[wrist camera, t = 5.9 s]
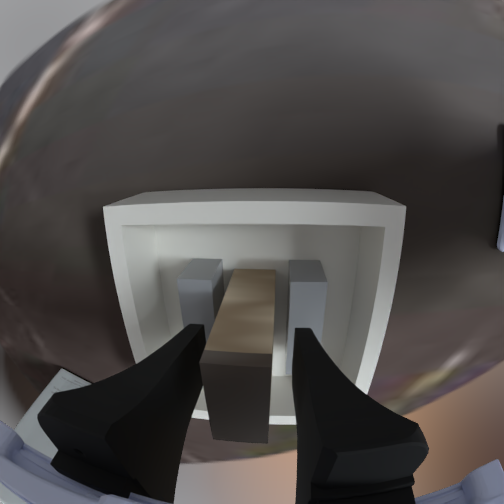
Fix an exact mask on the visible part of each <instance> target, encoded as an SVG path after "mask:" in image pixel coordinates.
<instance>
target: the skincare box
mask: <svg viewBox="0 0 504 504" xmlns="http://www.w3.org/2000/svg"><path fill="white" fill-rule="evenodd" d="M90 384H91V383H89V382H87V381H85V380H83V379H81V378H79V377H77V376H75V375H73V374H72V373H70V372H68V371H66V370H64V369H63V368H62V369H60V370H59V372H58V373H57V374H56V375H55V376H54V378H53V379H52V380H51V381H50V383H49V384H48V385H47V386H46V388H45V389H44V390H43V391H42V393H41V394H40V395H39V397H38V398H37V399H36V400H35V402H34V403H33V404H32V406H31V407H30V409H29V410H28V411H27V412H26V413H25V415H24V416H23V418H22V419H21V420H20V422H19V423H18V424H17V425H16V427H15V428H14V431H15V432H16V433H17V434H18V435H19V436H20V437H21V438H22V440H23V441H24V443H26V444H27V445H29V446H30V447H32V448H34V449H35V450H37V451H39V452H41V453H42V454H44V455H46V456H48V457H50V458H51V459H53V458H54V456H55V455H56V453H57V451H58V449H57V448H56V447H55V445H54V444H53V443H52V442H51V440H50V439H49V438H48V436H47V435H46V434H45V432H44V431H43V430H42V428H41V427H40V425H39V422H38V419H37V414H38V413H39V412H40V410H41V409H42V408H43V407H44V405H45V404H46V403H47V401H48V400H49V399H50V397H51V396H52V395H53V394H54V393H55V392H61V391H66V390H71V389H76V388H80V387H84V386H87V385H90ZM0 502H1V503H2V504H27V503H26V502H25V501H23V500H22V499H21V498H19V497H18V496H17V495H15V494H14V493H13V492H11V491H10V490H9V489H8V488H6V487H5V486H4V485H3V484H2V483H0Z"/></svg>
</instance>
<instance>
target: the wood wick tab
mask: <svg viewBox="0 0 504 504" xmlns="http://www.w3.org/2000/svg"><path fill="white" fill-rule="evenodd" d="M275 277H276V270H271V269H234V271H233V274H232V277H231V279H230V282H229V285H228V287H227V290H226V293H225V295H224V298H223V300H222V303H221V306H220V308H219V311H218V314H217V316H216V319H215V322H214V324H213V327H212V330H211V332H210V335H209V338H208V341H207V343H206V346H205V349H204V351H203V354H202V357H201V359H200V362H199V363H200V370H201V376H202V382H203V388H204V394H205V400H206V405H207V411H208V416H209V421H210V427H211V432H212V437H213V439H216V440H225V441H235V442H248V443H266V444H268V431H269V416H270V400H271V382H272V363H273V342H274V314H275Z"/></svg>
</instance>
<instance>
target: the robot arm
mask: <svg viewBox="0 0 504 504" xmlns="http://www.w3.org/2000/svg"><path fill="white" fill-rule="evenodd" d="M497 248H498V250H500V251H502V252H504V197H503V206H502V215H501V222H500V229H499V235H498V240H497ZM205 346H206V337H205V329H204V324H191V323H190V324H189V325H187V326H186V327H185V328H184V329H182V330H181V331H180V332H179V333H178V334H176V335H175V336H174V337H173V338H172V339H170V340H169V341H168V342H167V343H165V344H164V345H163V346H162V347H160V348H159V349H157V350H156V351H155V352H153V353H152V354H150V355H149V356H148V357H146V358H145V359H143V360H142V361H140V362H138V363H137V364H135V365H133V366H132V367H130V368H128V369H126V370H124V371H122V372H120V373H118V374H116V375H113V376H111V377H109V378H107V379H104V380H102V381H99V382H96V383H93V384H90V385H87V386H84V387H80V388H76V389H71V390H66V391H61V392H55V393H54V394H53V395H52V396H51V397H50V399H49V400H48V401H47V403H46V404H45V405H44V407H43V408H42V409H41V410H40V412H39V413H38V414H37V419H38V422H39V425H40V427H41V428H42V430H43V431H44V432H45V434H46V435H47V436H48V438H49V439H50V440H51V442H52V443H53V444H54V445H55V447H56V448H57V449H58V451H57V453H56V455H55V456H54V458H53V459H51V458H50V457H48V456H46V455H44V454H42V453H41V452H39V451H37V450H35V449H34V448H32V447H30V446H29V445H27V444H26V443H24V441H23V440H22V438H21V437H20V436H19V435H18V434H17V433H16V432H15V431H14V430H13V429H12V428H10V427H9V426H8V425H6V424H5V423H3V422H2V421H0V483H2V484H3V485H4V486H5V487H6V488H8V489H9V490H10V491H11V492H13V493H14V494H15V495H17V496H18V497H19V498H21V499H22V500H23V501H25V502H26V503H27V504H173V503H174V495H175V488H176V481H177V476H178V470H179V464H180V460H181V455H182V450H183V445H184V441H185V437H186V432H187V429H188V425H189V422H190V419H191V417H192V414H193V411H194V409H195V406H196V403H197V401H198V398H199V395H200V393H201V390H202V387H203V382H202V376H201V370H200V363H199V362H200V359H201V357H202V354H203V351H204V349H205ZM292 391H293V399H294V408H295V416H296V425H297V484H296V503H295V504H504V471H503V469H502V467H501V464H500V463H499V460H498V459H496V460H494V461H492V462H490V463H488V464H485V465H483V466H481V467H479V468H477V469H475V470H473V471H472V472H470V473H469V474H468V475H467V476H466V477H465V478H464V479H463V480H462V481H461V482H460V483H457V484H455V485H452V486H450V487H447V488H444V489H441V490H439V491H436V492H433V493H430V494H426V495H423V496H420V497H417V498H414V495H413V490H412V485H414V482H415V481H414V477H413V473H414V472H415V471H416V469H417V468H418V467H419V466H420V465H421V463H422V462H423V461H424V459H425V458H426V456H427V454H428V450H429V447H428V445H427V442H426V439H425V437H424V435H423V432H422V431H421V429H420V427H419V425H418V423H416V422H413V421H411V420H409V419H407V418H405V417H402V416H400V415H398V414H396V413H394V412H393V411H391V410H389V409H387V408H386V407H384V406H382V405H381V404H379V403H378V402H376V401H375V400H373V399H372V398H371V397H369V396H368V395H367V394H365V393H364V392H363V391H361V390H360V389H359V388H358V387H357V386H356V385H355V384H354V383H352V382H351V381H350V380H349V379H348V378H347V377H346V376H345V375H344V373H343V372H342V371H341V370H340V369H339V368H338V367H337V366H336V364H335V363H334V362H333V361H332V359H331V358H330V357H329V355H328V354H327V353H326V351H325V350H324V348H323V347H322V345H321V344H320V342H319V341H318V339H317V338H316V336H315V334H314V332H313V330H312V329H311V328H295V333H294V346H293V359H292Z"/></svg>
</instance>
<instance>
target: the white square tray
mask: <svg viewBox="0 0 504 504" xmlns="http://www.w3.org/2000/svg"><path fill="white" fill-rule="evenodd" d="M103 212H104V220H105V228H106V235H107V241H108V248H109V254H110V260H111V265H112V270H113V276H114V281H115V285H116V290H117V295H118V299H119V303H120V308H121V312H122V316H123V320H124V324H125V328H126V331H127V335H128V339H129V342H130V346H131V349H132V352H133V356H134V359H135V362H136V364H137V363H138V362H140V361H142V360H143V359H145V358H146V357H148V356H149V355H150V354H152V353H153V352H155V351H156V350H157V349H159V348H160V347H162V346H163V345H164V344H165V343H167V342H168V341H169V340H170V339H172V338H173V337H174V336H175V335H176V334H178V333H179V332H180V331H181V330H182V329H184V328H185V327H186V326H187V325H189V324H190V323H191V324H204V329H205V337H206V343H207V341H208V338H209V335H210V332H211V330H212V327H213V324H214V322H215V319H216V316H217V314H218V311H219V308H220V306H221V303H222V300H223V298H224V295H225V293H226V290H227V287H228V285H229V282H230V279H231V277H232V274H233V271H234V269H271V270H276V277H275V314H274V342H273V363H272V382H271V400H270V416H269V424H296V416H295V408H294V399H293V391H292V359H293V346H294V333H295V328H311V329H312V330H313V332H314V334H315V336H316V338H317V339H318V341H319V342H320V344H321V345H322V347H323V348H324V350H325V351H326V353H327V354H328V355H329V357H330V358H331V359H332V361H333V362H334V363H335V364H336V366H337V367H338V368H339V369H340V370H341V371H342V372H343V373H344V375H345V376H346V377H347V378H348V379H349V380H350V381H351V382H352V383H354V384H355V385H356V386H357V387H358V388H359V389H360V390H361V391H363V392H364V393H365V394H367V393H368V390H369V387H370V384H371V381H372V378H373V374H374V371H375V368H376V364H377V361H378V358H379V354H380V351H381V347H382V343H383V339H384V335H385V332H386V327H387V323H388V319H389V315H390V310H391V306H392V301H393V296H394V291H395V286H396V280H397V275H398V269H399V263H400V256H401V249H402V242H403V234H404V225H405V215H406V206H405V205H403V204H400V203H398V202H396V201H394V200H392V199H389V198H387V197H385V196H382V195H380V194H378V193H375V192H371V191H353V190H331V189H293V188H235V189H198V190H175V191H157V192H144V193H141V194H138V195H135V196H132V197H129V198H126V199H123V200H120V201H117V202H115V203H112V204H109V205H106V206H104V207H103ZM192 417H193V418H200V419H208V420H209V416H208V411H207V405H206V400H205V394H204V388H203V387H202V390H201V393H200V395H199V398H198V401H197V403H196V406H195V409H194V411H193V414H192Z"/></svg>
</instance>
